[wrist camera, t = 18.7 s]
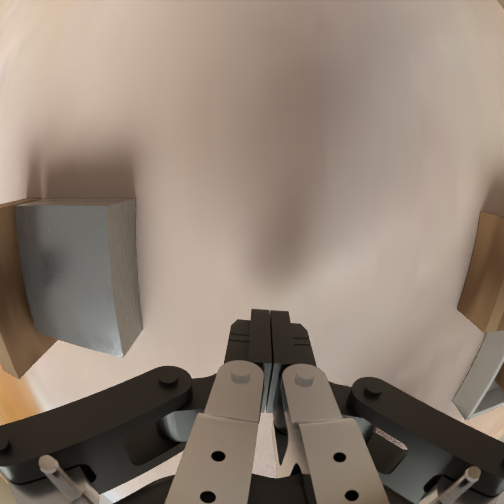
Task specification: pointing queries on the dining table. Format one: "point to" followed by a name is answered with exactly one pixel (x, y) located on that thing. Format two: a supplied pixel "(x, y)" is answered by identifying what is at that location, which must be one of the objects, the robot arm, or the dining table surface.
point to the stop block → (16, 303)
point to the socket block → (486, 277)
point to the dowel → (500, 377)
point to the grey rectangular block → (82, 270)
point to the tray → (483, 379)
